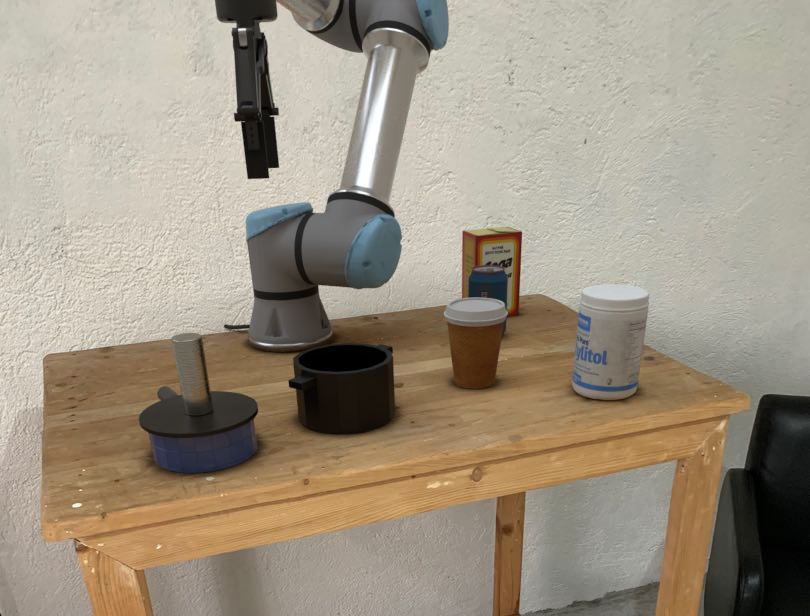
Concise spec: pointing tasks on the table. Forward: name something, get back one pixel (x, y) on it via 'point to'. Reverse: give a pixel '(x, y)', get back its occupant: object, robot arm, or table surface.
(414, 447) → the table surface
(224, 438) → the pan
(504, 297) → the soda can
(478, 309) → the disposable coffee cup
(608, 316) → the supplement tub
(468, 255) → the baking soda box
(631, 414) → the table surface
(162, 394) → the pan handle
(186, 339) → the lid
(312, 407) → the pot
